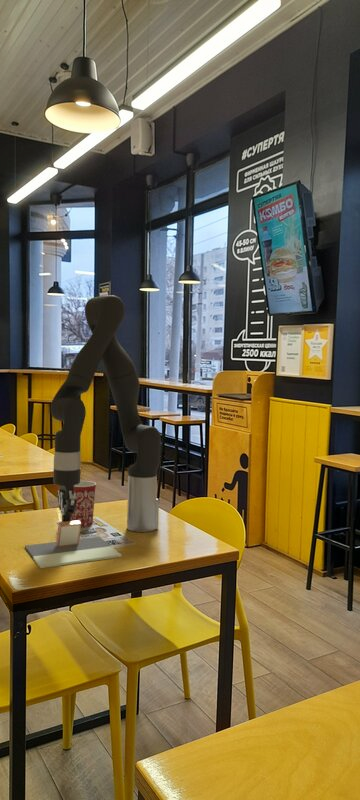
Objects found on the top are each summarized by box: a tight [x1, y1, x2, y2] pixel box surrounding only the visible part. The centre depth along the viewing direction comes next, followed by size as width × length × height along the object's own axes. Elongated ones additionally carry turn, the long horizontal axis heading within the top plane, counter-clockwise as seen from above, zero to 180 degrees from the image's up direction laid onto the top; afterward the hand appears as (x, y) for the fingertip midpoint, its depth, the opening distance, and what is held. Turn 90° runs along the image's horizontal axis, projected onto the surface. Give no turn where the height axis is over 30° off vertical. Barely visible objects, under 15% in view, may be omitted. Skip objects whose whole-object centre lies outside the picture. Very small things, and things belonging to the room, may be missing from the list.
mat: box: [24, 536, 122, 569], centre depth 155 cm, size 22×18×1 cm
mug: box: [71, 480, 97, 528], centre depth 185 cm, size 13×9×14 cm
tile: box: [55, 520, 82, 547], centre depth 158 cm, size 6×2×7 cm, turn 117°
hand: (66, 527), depth 160 cm, fingers closed
